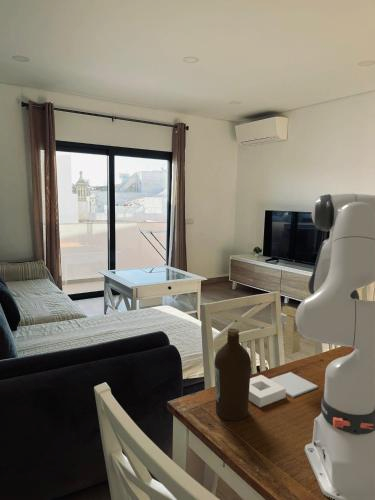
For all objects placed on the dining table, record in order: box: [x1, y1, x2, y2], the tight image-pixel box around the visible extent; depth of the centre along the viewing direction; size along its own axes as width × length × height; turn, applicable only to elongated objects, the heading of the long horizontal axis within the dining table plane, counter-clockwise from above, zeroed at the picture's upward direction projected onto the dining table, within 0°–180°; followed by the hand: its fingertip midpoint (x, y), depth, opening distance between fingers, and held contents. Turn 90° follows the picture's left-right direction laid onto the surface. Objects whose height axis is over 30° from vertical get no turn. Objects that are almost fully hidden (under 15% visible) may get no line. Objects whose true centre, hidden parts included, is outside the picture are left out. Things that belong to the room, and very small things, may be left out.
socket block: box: [248, 374, 287, 408], centre depth 116 cm, size 11×11×3 cm
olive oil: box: [213, 327, 252, 421], centre depth 105 cm, size 11×11×25 cm
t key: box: [281, 305, 301, 354], centre depth 120 cm, size 8×3×14 cm, turn 32°
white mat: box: [269, 371, 319, 398], centre depth 123 cm, size 12×12×1 cm
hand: (291, 328), depth 120 cm, fingers closed on t key, 3 cm apart
